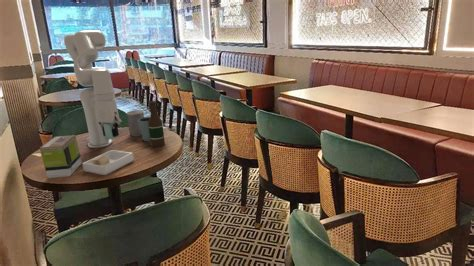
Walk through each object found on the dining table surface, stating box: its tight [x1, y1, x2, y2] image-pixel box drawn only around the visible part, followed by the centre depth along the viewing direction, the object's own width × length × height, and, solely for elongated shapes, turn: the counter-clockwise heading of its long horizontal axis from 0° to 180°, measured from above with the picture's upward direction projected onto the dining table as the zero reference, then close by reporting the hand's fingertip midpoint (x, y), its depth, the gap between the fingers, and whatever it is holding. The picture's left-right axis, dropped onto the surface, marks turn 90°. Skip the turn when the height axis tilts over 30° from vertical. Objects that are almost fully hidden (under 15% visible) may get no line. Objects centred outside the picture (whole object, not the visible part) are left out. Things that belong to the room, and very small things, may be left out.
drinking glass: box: [138, 116, 150, 142], centre depth 188 cm, size 10×10×12 cm
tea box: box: [39, 134, 83, 179], centre depth 149 cm, size 15×10×15 cm, turn 5°
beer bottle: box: [148, 100, 165, 148], centre depth 175 cm, size 8×8×24 cm
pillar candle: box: [126, 109, 145, 137], centre depth 198 cm, size 10×10×15 cm
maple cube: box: [91, 155, 110, 166], centre depth 149 cm, size 5×5×5 cm
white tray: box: [81, 149, 135, 176], centre depth 153 cm, size 14×18×4 cm
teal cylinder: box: [103, 123, 118, 140], centre depth 152 cm, size 5×5×7 cm
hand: (111, 135), depth 153 cm, fingers closed on teal cylinder, 5 cm apart
